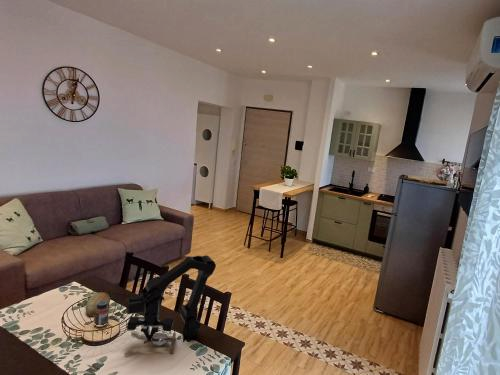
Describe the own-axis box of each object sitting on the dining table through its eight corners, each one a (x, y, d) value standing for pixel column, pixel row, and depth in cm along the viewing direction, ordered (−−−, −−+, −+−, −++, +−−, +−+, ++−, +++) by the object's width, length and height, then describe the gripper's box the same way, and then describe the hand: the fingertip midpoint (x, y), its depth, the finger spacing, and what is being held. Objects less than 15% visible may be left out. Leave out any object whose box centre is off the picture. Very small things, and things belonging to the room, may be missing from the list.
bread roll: (114, 302, 171) (114, 288, 169) (100, 319, 156) (101, 304, 155) (96, 300, 171) (96, 286, 169) (81, 316, 156) (81, 301, 155)
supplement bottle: (92, 322, 153) (93, 300, 151) (106, 319, 157) (107, 297, 154) (95, 329, 149) (96, 307, 146) (109, 326, 152) (110, 304, 150)
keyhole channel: (175, 335, 152) (176, 329, 151) (172, 357, 138) (172, 351, 137) (131, 334, 149) (131, 328, 148) (123, 356, 135) (123, 350, 134)
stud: (168, 340, 148) (169, 333, 147) (166, 351, 141) (167, 343, 140) (152, 340, 147) (153, 332, 146) (150, 351, 140) (150, 343, 139)
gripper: (175, 299, 149) (172, 330, 152) (133, 297, 146) (131, 328, 149) (173, 314, 138) (170, 346, 141) (127, 312, 135) (125, 344, 138)
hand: (149, 340), depth 143 cm, fingers closed
